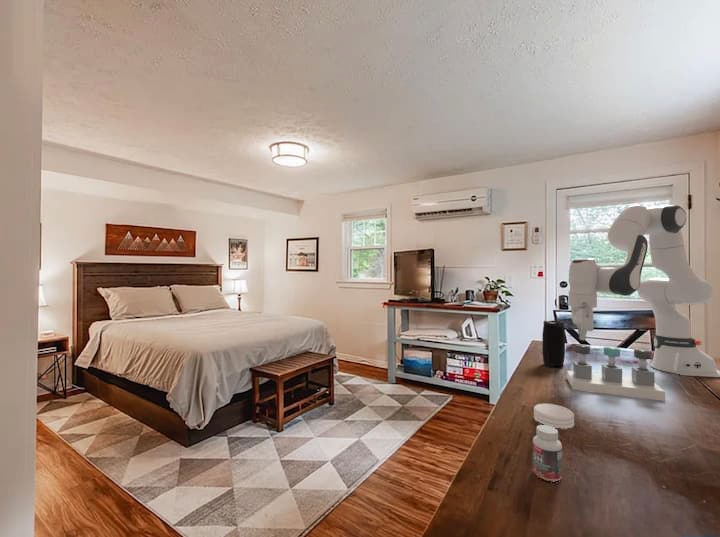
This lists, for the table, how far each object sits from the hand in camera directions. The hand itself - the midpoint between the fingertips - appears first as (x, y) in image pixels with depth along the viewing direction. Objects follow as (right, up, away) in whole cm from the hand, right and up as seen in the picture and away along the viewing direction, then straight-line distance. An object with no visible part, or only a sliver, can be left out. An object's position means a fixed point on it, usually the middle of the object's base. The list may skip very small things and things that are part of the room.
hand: (582, 339), depth 129 cm
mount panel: (+8, -17, -3) cm, 19 cm away
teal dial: (+8, -9, -4) cm, 13 cm away
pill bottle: (-43, -17, -56) cm, 73 cm away
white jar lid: (-27, -17, -30) cm, 44 cm away
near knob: (+17, -9, -7) cm, 20 cm away
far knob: (0, -9, 0) cm, 9 cm away
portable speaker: (+4, -17, +26) cm, 31 cm away
